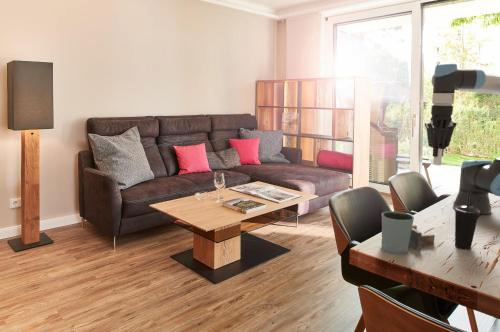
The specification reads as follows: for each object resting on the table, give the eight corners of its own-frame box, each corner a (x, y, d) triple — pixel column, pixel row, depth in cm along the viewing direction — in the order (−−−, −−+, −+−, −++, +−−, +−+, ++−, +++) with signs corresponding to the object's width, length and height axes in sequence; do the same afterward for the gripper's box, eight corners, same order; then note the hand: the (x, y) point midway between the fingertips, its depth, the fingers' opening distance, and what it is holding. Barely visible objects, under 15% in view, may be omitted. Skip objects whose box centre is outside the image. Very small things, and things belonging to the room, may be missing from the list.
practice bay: (414, 233, 150) (415, 218, 149) (439, 248, 137) (441, 231, 136) (393, 235, 148) (395, 220, 147) (417, 250, 135) (418, 233, 134)
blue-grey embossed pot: (373, 247, 137) (375, 214, 135) (391, 241, 143) (393, 209, 140) (399, 257, 129) (401, 222, 127) (417, 250, 134) (420, 216, 132)
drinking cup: (474, 253, 132) (481, 195, 129) (449, 248, 136) (455, 192, 133) (476, 245, 139) (482, 190, 135) (451, 241, 143) (457, 187, 139)
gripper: (450, 104, 159) (444, 162, 163) (421, 104, 156) (416, 163, 160) (464, 105, 151) (457, 165, 156) (434, 105, 148) (428, 167, 153)
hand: (436, 164), depth 158 cm, fingers closed
